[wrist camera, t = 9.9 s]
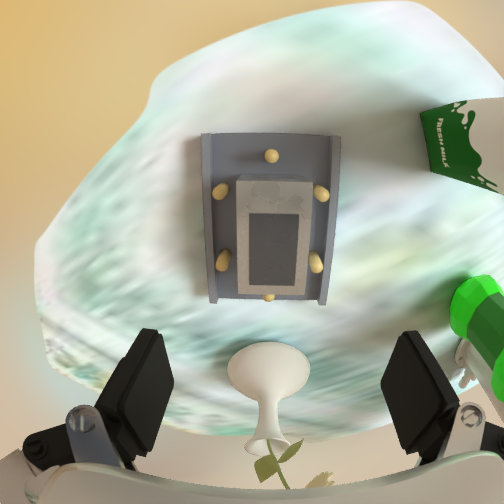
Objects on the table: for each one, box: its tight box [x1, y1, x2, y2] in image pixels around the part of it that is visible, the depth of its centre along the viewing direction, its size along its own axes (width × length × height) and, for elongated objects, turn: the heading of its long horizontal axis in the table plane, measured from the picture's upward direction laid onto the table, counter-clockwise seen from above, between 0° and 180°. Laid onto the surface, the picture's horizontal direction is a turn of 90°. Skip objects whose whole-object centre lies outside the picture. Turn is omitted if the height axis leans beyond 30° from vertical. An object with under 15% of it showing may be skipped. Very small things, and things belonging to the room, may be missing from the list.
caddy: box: [201, 133, 341, 305], centre depth 27 cm, size 18×13×4 cm
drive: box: [236, 174, 313, 295], centre depth 25 cm, size 10×6×6 cm, turn 0°
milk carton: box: [420, 97, 504, 195], centre depth 14 cm, size 9×9×20 cm
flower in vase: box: [227, 342, 335, 489], centre depth 24 cm, size 13×11×25 cm
